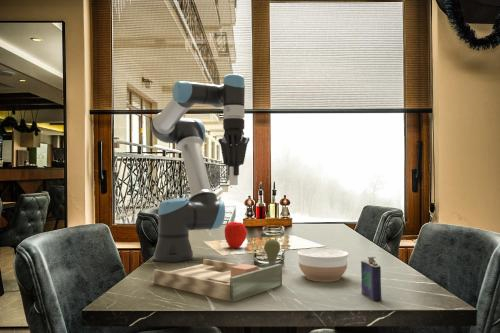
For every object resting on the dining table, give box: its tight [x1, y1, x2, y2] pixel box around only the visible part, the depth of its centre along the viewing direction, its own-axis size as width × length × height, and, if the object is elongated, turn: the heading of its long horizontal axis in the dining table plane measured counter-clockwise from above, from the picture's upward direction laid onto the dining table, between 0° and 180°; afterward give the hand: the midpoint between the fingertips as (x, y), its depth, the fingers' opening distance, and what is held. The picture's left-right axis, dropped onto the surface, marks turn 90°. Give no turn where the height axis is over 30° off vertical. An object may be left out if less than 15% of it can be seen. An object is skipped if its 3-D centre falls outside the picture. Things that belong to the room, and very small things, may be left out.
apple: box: [224, 221, 248, 249], centre depth 193 cm, size 10×10×12 cm
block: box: [231, 263, 259, 277], centre depth 121 cm, size 6×6×4 cm
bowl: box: [297, 247, 350, 283], centre depth 136 cm, size 16×16×8 cm
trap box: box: [153, 258, 283, 303], centre depth 127 cm, size 31×22×6 cm
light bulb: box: [263, 238, 281, 267], centre depth 151 cm, size 6×6×10 cm
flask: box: [360, 256, 383, 303], centre depth 114 cm, size 9×3×11 cm, turn 8°
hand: (233, 184), depth 152 cm, fingers closed
